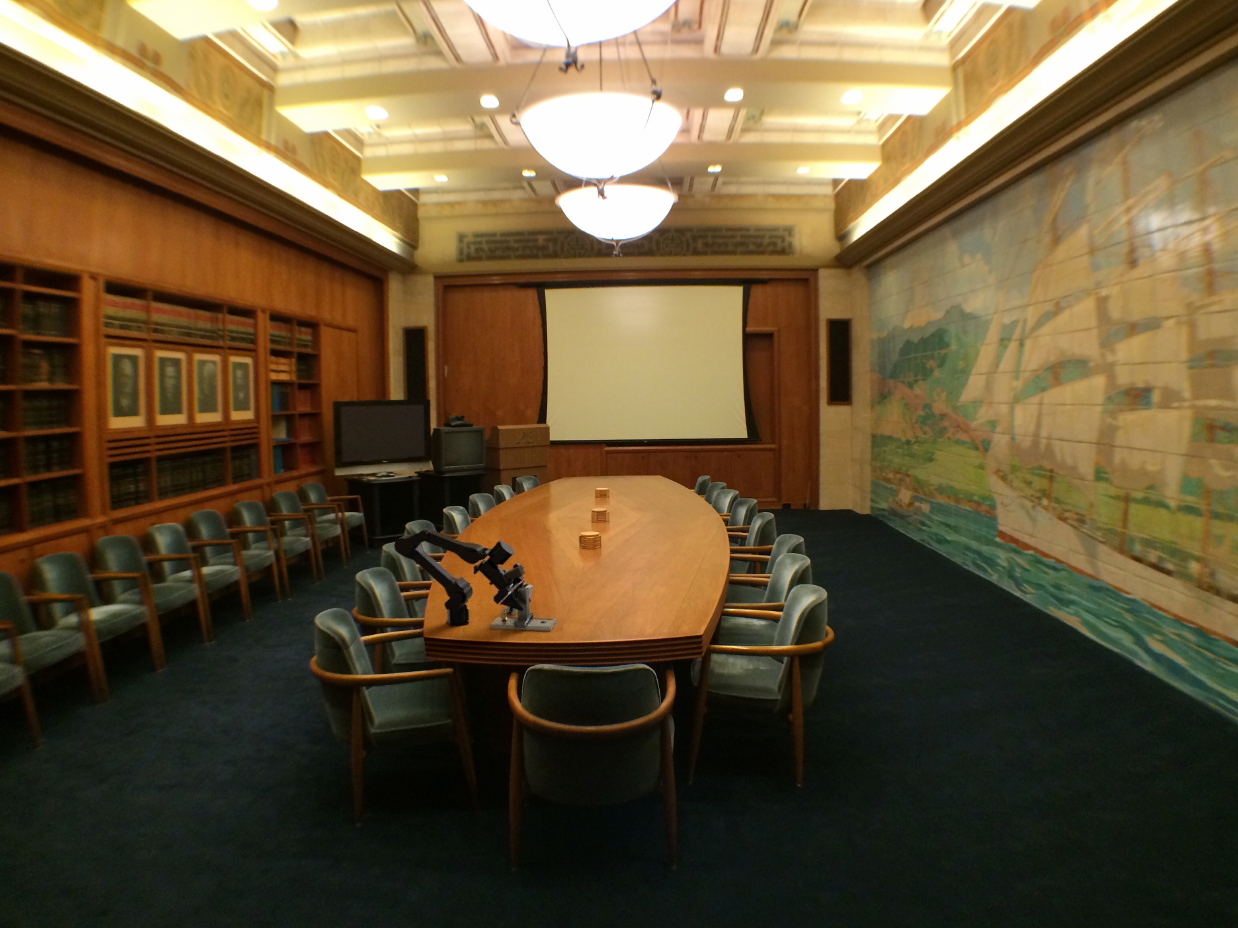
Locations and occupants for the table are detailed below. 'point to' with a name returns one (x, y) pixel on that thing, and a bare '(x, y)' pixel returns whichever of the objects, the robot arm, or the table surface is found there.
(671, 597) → the table surface
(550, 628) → the bolt plate
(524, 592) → the leg
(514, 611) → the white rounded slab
